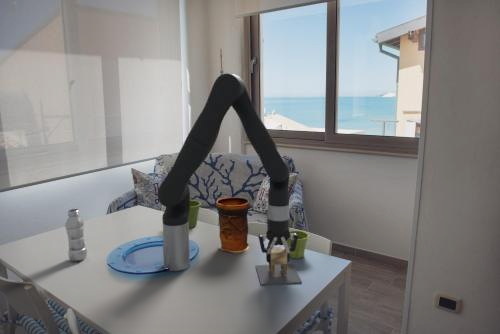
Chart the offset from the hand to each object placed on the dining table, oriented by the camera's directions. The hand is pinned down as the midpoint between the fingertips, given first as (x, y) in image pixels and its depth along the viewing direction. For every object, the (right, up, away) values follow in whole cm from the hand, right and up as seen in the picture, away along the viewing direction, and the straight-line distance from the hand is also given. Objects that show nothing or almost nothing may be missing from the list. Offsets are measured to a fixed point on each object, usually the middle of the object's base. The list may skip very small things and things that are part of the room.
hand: (277, 262), depth 132 cm
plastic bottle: (-77, -3, +14) cm, 78 cm away
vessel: (-17, 0, +26) cm, 31 cm away
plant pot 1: (-39, +5, +51) cm, 65 cm away
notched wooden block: (0, -3, +1) cm, 4 cm away
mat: (0, -5, +1) cm, 5 cm away
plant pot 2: (+8, -2, +17) cm, 19 cm away
